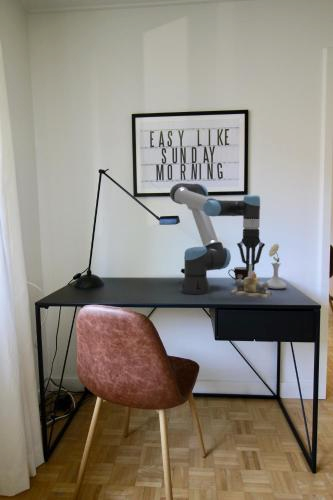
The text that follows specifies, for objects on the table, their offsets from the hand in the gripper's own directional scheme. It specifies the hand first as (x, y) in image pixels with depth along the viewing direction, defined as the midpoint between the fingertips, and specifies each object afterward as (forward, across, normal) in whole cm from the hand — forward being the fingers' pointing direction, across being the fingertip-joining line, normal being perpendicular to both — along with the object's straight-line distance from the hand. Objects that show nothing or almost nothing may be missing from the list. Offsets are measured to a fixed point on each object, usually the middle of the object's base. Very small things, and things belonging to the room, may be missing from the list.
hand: (249, 277), depth 156 cm
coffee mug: (+10, 0, +32) cm, 34 cm away
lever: (0, +2, +5) cm, 5 cm away
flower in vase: (+10, +19, +23) cm, 31 cm away
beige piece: (+10, +3, +10) cm, 15 cm away
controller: (+11, -28, +41) cm, 51 cm away
